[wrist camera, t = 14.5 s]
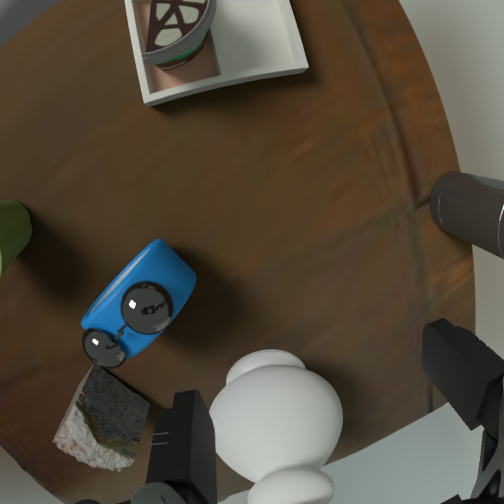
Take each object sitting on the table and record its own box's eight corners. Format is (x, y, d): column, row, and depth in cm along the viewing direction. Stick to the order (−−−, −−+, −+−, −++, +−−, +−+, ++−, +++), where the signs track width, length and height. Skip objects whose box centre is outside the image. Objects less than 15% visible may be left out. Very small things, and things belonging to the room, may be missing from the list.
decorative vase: (198, 342, 43) (188, 501, 20) (323, 324, 44) (399, 462, 21) (219, 425, 49) (225, 555, 25) (322, 409, 50) (367, 529, 26)
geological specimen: (152, 397, 46) (137, 470, 32) (133, 414, 47) (116, 483, 33) (96, 359, 43) (63, 428, 29) (80, 379, 44) (49, 444, 30)
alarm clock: (168, 224, 38) (139, 268, 24) (202, 260, 40) (194, 321, 26) (102, 290, 40) (57, 352, 26) (135, 321, 42) (104, 392, 27)
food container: (214, 81, 33) (212, 56, 23) (161, 82, 32) (140, 60, 23) (220, -7, 29) (220, -49, 20) (169, -5, 28) (156, -46, 19)
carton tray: (271, -28, 29) (275, -39, 26) (302, 73, 34) (308, 67, 31) (129, 2, 29) (123, -8, 26) (150, 106, 34) (144, 103, 31)
